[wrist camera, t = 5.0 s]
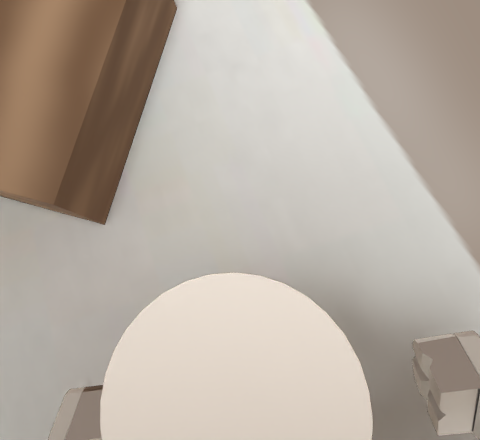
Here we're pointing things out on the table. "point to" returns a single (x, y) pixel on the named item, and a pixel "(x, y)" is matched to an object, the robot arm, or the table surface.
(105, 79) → the walnut stand
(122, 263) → the table surface
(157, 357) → the tube
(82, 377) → the table surface
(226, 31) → the table surface
